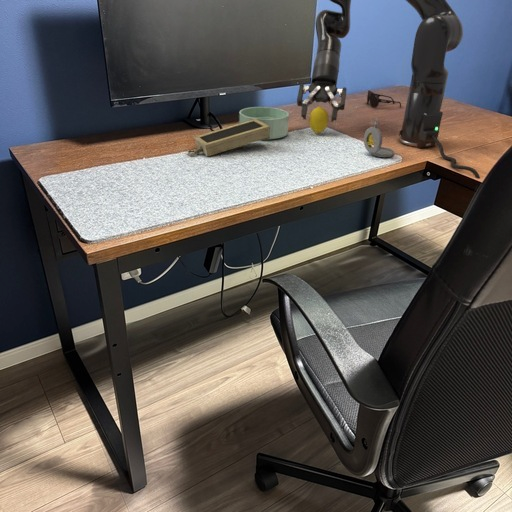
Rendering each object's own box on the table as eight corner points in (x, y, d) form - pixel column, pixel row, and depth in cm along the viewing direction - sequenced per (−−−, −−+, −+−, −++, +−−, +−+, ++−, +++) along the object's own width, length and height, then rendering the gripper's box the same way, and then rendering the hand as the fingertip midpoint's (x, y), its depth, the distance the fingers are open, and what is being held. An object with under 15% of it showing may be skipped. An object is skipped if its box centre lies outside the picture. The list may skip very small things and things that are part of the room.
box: (273, 143, 130) (271, 125, 127) (196, 168, 122) (192, 149, 119) (257, 135, 136) (255, 117, 133) (184, 158, 128) (180, 140, 125)
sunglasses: (361, 101, 182) (365, 88, 180) (390, 105, 185) (394, 92, 183) (372, 108, 173) (376, 94, 171) (402, 113, 176) (406, 99, 174)
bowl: (296, 137, 140) (298, 116, 137) (253, 143, 134) (254, 121, 131) (271, 124, 151) (273, 105, 148) (230, 129, 145) (230, 109, 142)
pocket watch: (396, 153, 131) (403, 116, 126) (387, 162, 125) (394, 123, 120) (367, 147, 134) (373, 111, 129) (356, 155, 128) (362, 117, 123)
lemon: (326, 131, 146) (329, 104, 142) (326, 137, 142) (330, 109, 138) (307, 130, 147) (310, 103, 143) (307, 135, 142) (310, 108, 138)
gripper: (301, 60, 142) (293, 110, 138) (351, 64, 140) (344, 114, 136) (302, 76, 149) (294, 123, 145) (349, 80, 147) (342, 128, 143)
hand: (318, 119), depth 141 cm, fingers open, 7 cm apart
